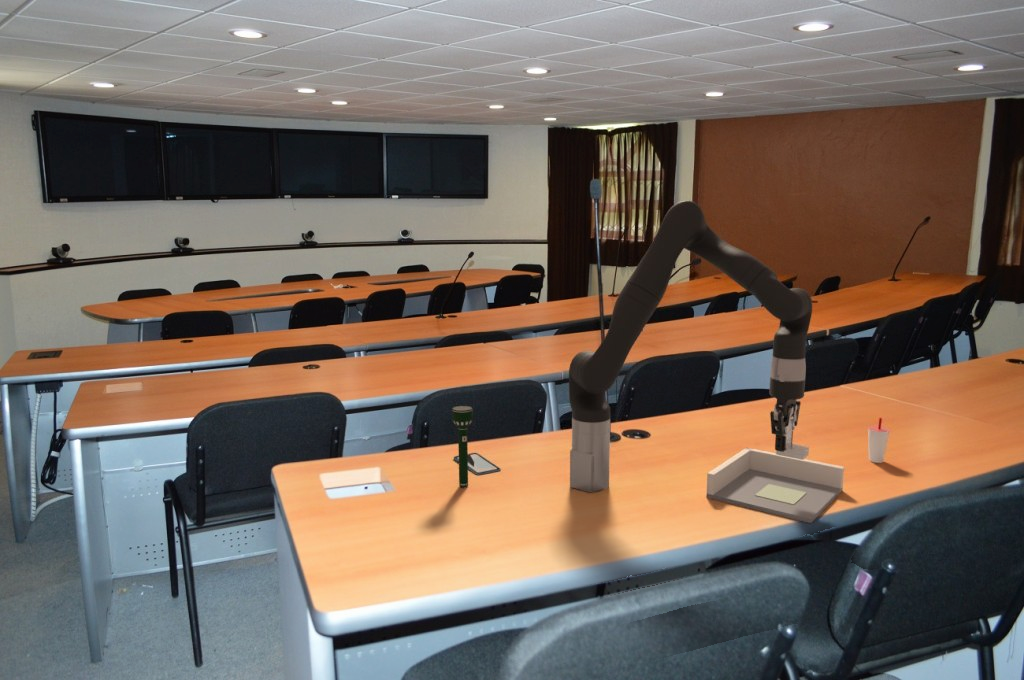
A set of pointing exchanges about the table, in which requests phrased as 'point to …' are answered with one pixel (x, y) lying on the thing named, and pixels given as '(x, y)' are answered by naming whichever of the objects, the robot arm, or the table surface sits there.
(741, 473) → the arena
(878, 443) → the cup
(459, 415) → the flashlight
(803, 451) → the bracket
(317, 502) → the table surface
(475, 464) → the smartphone
